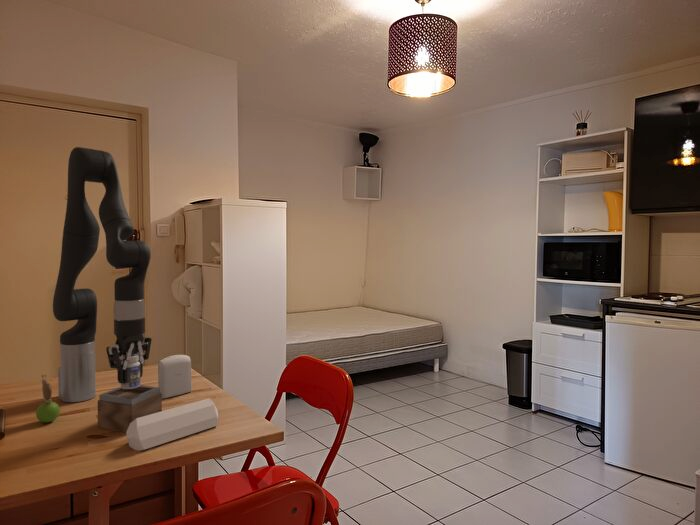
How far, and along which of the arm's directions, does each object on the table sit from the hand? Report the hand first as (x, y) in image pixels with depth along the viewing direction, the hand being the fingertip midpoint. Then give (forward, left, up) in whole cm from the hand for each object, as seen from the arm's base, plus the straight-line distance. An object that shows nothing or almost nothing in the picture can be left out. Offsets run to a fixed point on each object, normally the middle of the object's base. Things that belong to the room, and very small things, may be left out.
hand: (130, 379), depth 129 cm
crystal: (+16, -2, -12) cm, 20 cm away
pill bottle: (0, 0, -2) cm, 2 cm away
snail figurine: (-21, -7, -12) cm, 25 cm away
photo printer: (-4, +23, -12) cm, 26 cm away
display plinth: (0, 0, -12) cm, 12 cm away
